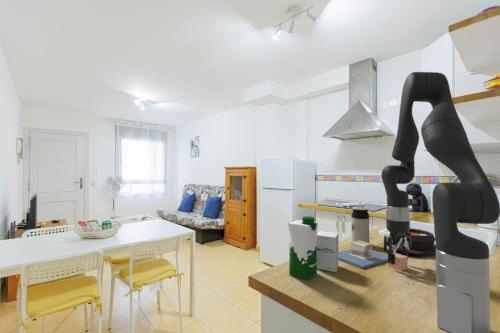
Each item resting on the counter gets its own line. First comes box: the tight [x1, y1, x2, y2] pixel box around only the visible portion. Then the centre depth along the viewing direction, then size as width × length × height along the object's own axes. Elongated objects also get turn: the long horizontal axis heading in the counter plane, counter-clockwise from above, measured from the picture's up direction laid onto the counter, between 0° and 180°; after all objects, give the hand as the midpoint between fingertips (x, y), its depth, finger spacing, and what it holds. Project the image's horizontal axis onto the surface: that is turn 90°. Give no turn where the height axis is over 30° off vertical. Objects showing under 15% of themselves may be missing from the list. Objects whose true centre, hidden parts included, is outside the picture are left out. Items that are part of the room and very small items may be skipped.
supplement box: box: [317, 230, 340, 273], centre depth 90 cm, size 7×7×13 cm
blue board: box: [338, 249, 388, 270], centre depth 99 cm, size 20×15×1 cm
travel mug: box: [350, 206, 371, 244], centre depth 118 cm, size 8×8×18 cm
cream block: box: [350, 241, 373, 259], centre depth 100 cm, size 5×6×5 cm
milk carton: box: [287, 216, 319, 281], centre depth 84 cm, size 9×9×20 cm
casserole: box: [392, 227, 436, 255], centre depth 110 cm, size 25×19×8 cm
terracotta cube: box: [387, 252, 409, 272], centre depth 90 cm, size 4×4×4 cm
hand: (398, 261), depth 90 cm, fingers open, 8 cm apart
